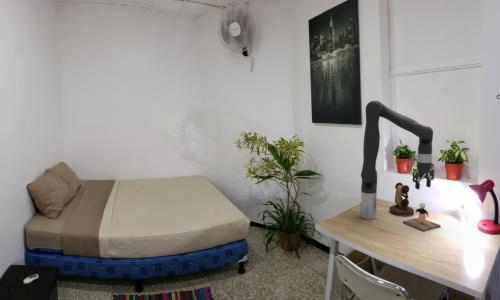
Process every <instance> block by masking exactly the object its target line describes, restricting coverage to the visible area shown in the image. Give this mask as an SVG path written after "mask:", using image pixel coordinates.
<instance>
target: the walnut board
mask: <svg viewBox="0 0 500 300" xmlns="http://www.w3.org/2000/svg"><path fill="white" fill-rule="evenodd" d="M422 223H423V222H422ZM422 223H421V224H420V223H419V217H416V218H411V219H407V220H402V224H404V225H406V226H409V227H410V228H413V229H416V230H418V231H420V232H422V233H423V232H428V231H432V230H436V229H439V228H441V224H438V223H435V222H433V221H430V220H428V219H426V223H427V224H425V225H424V224H422Z"/></svg>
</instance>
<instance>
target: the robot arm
mask: <svg viewBox="0 0 500 300" xmlns="http://www.w3.org/2000/svg"><path fill="white" fill-rule="evenodd" d="M380 118H383V119H385V120H387V121H389V122H390V123H392V124H394V125H395V126H397V127H398V128H400V129H403V130H404V131H407V132H410V133H412V134H413V135H414V136H416V137H418V140H419V141H418V146H417V156H416V170H417V171H413V172H412V182H413V183H414V187H415V189H416V190H420V188H421V181H422V180H424V179H426V182H425V183H426V185H425V186H426V187H427V188H431V185H432V181H434V179H435V170H434V169H432V167H433V166H432V165H433V137H434V129H433V128H432V127H431V126H428V125H427V126H426V125H424V124H421V123H419V122H418V121H417V120H414V119H413V118H410V117H408V116H406V115H403V114H401V113H399V112H397V111H395V110H392V109H391V108H389V107H388V106H386V105H385V104H383V103H382V102H381V101H379V100H371V101H369V102H368V103H367V104H366V106H365V128H364V134H363V145H362V146H363V147H362V150H363V151H362V152H363V153H362V155H363V158H362V159H363V163H362V168H361V172H360V178H361V187H360V189H361V190H360V194H361V195H360V202H359V217H361V218H362V219H364V220H375V219H376V218H377V197H378V196H377V192H378V191H377V189H378V171H377V167H376V166H377V158H378V153H379V151H380V150H379V149H380V144H381V143H380V141H381V135H380V127H379V126H380V125H379V124H380V123H379V122H380Z"/></svg>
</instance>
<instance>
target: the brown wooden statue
mask: <svg viewBox="0 0 500 300" xmlns="http://www.w3.org/2000/svg"><path fill="white" fill-rule="evenodd" d="M394 189H395V192H394V193H395V194H394V203H395V204H394V205H391V206H389V207H388V209H389V211H390V212H391V213H393V214H397V215H398V217H400V216H401V215H403V216H405V215H406V216H407V215H409V216H410V215H414V214H415V209H414V208H413V207H411V206H409V204H410V201H409V194H408V193H409V191H410V187H409V185H407V184H405V185H404V184H403V183H402V182H397V183H396V184H395V185H394Z"/></svg>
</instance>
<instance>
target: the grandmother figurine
mask: <svg viewBox="0 0 500 300" xmlns="http://www.w3.org/2000/svg"><path fill="white" fill-rule="evenodd" d="M418 207H419V208H417V209H415V210H414V214H418V218H419V223H420V224H421V223H422V222H423V223H422V224H424V225H425V224H427V223H426V220H427V219H426V217H430V215H429V212H428V211H427V210H426V209H425V208H426V203H424V202H421V203H419V205H418Z"/></svg>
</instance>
